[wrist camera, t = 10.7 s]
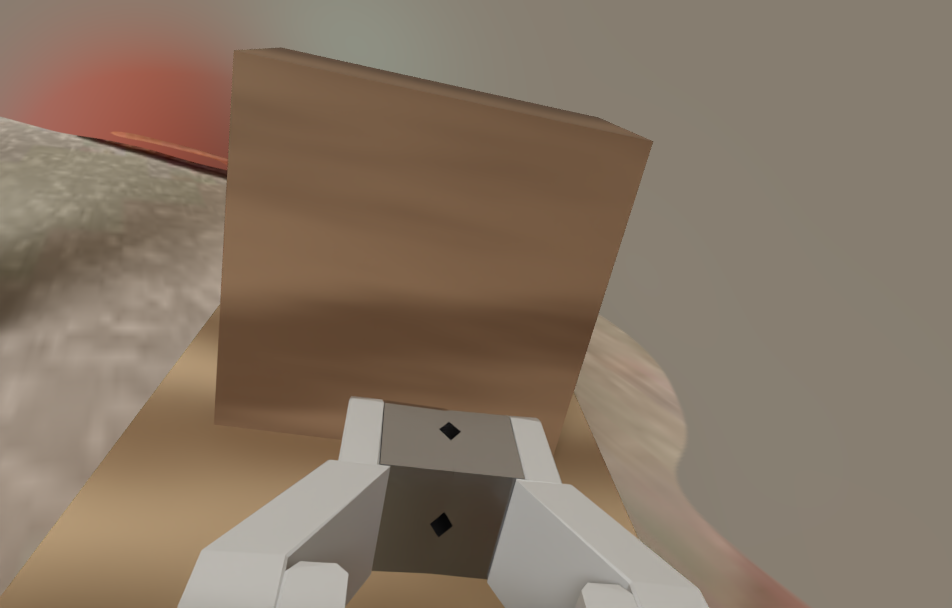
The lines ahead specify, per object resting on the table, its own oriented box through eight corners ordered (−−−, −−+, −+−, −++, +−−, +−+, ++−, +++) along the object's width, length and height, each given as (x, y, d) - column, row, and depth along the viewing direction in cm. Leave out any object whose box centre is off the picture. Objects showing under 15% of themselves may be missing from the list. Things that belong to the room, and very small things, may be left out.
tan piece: (653, 986, 13) (763, 823, 10) (-92, 1008, 10) (-156, 805, 8) (521, 453, 29) (552, 344, 27) (219, 416, 27) (226, 294, 25)
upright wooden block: (550, 465, 19) (653, 141, 15) (213, 424, 17) (233, 50, 13) (510, 335, 27) (570, 105, 23) (280, 299, 25) (304, 46, 22)
